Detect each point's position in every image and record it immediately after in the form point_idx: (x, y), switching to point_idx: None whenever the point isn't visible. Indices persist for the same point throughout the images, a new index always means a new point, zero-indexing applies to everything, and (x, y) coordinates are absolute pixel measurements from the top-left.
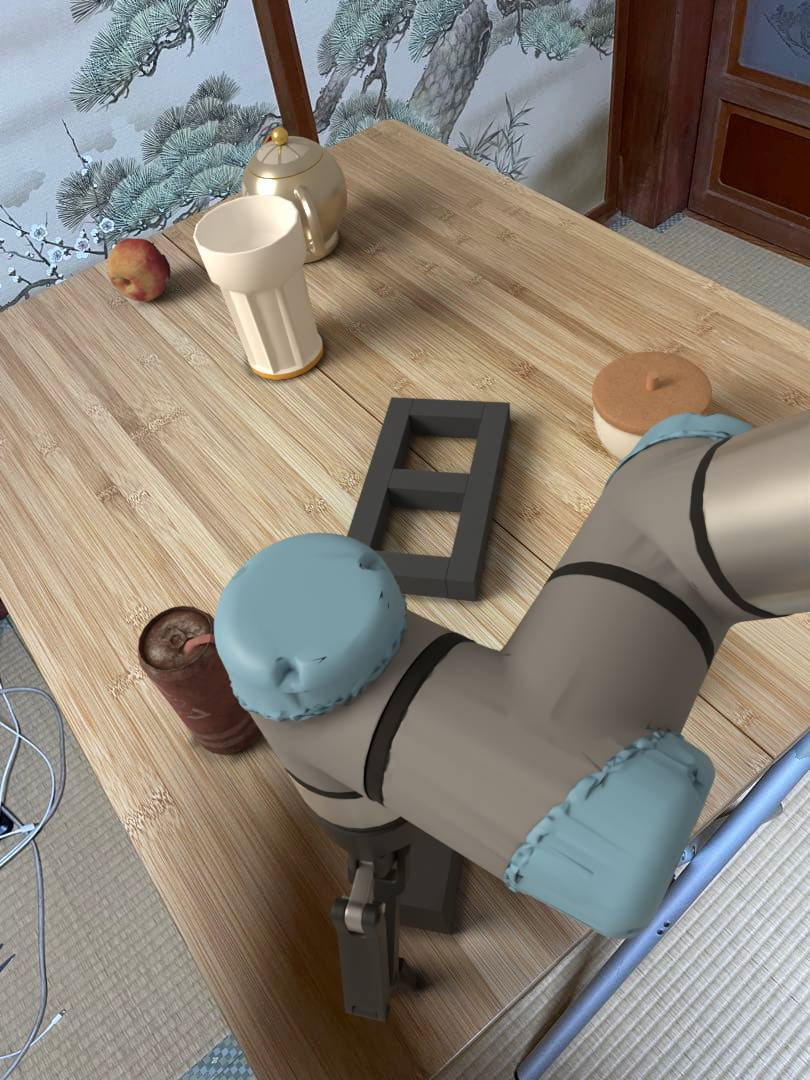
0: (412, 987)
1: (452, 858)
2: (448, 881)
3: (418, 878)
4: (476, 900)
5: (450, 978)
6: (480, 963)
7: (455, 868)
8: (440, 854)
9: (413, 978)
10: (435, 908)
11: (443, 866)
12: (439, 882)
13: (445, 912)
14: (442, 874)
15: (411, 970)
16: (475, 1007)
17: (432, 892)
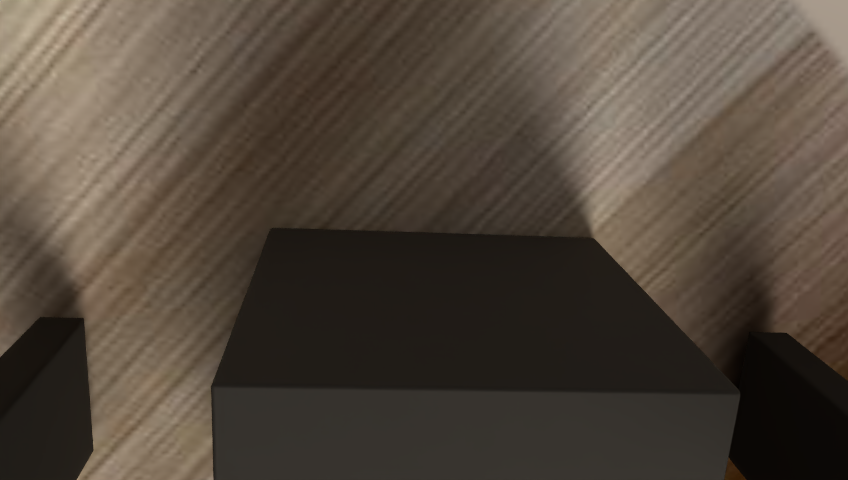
0: (822, 362)
1: (436, 372)
2: (565, 375)
3: None
4: (463, 159)
5: (733, 218)
6: (683, 118)
7: (421, 301)
8: (434, 449)
9: (803, 368)
10: (722, 426)
11: (500, 423)
12: (589, 430)
13: (667, 338)
14: (544, 421)
15: (840, 408)
16: (824, 120)
17: (642, 455)
